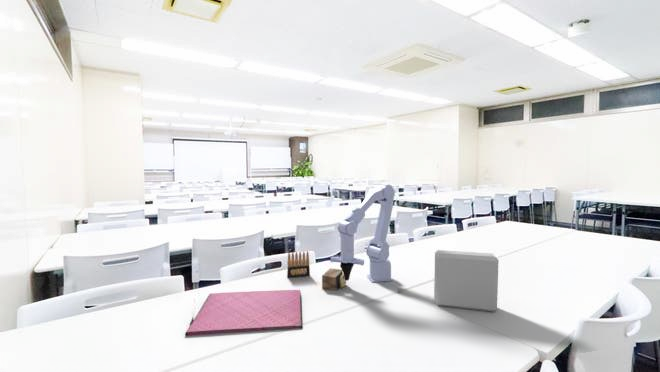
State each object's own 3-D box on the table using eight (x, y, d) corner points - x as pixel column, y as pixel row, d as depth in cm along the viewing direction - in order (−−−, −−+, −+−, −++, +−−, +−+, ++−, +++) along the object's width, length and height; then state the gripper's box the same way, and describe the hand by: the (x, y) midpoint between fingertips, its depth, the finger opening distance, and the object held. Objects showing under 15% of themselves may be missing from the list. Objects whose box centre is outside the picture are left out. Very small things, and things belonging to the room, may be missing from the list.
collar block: (343, 282, 137) (343, 269, 136) (336, 290, 127) (336, 277, 127) (330, 280, 139) (330, 268, 139) (322, 288, 130) (322, 275, 129)
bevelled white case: (492, 304, 114) (493, 251, 113) (498, 313, 107) (499, 258, 106) (433, 297, 120) (434, 248, 119) (435, 306, 112) (435, 253, 111)
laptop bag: (300, 285, 124) (302, 320, 97) (300, 295, 125) (302, 331, 98) (199, 289, 120) (171, 327, 93) (199, 299, 120) (172, 339, 93)
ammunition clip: (287, 278, 143) (287, 253, 142) (287, 276, 144) (286, 251, 144) (309, 276, 145) (309, 251, 144) (309, 274, 147) (309, 250, 146)
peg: (346, 283, 134) (346, 272, 133) (342, 287, 129) (342, 276, 129) (329, 281, 136) (329, 270, 136) (325, 285, 132) (325, 274, 131)
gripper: (328, 249, 129) (328, 280, 129) (361, 252, 124) (361, 285, 125) (333, 245, 135) (333, 275, 136) (365, 248, 130) (365, 279, 131)
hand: (347, 279), depth 131 cm, fingers closed
